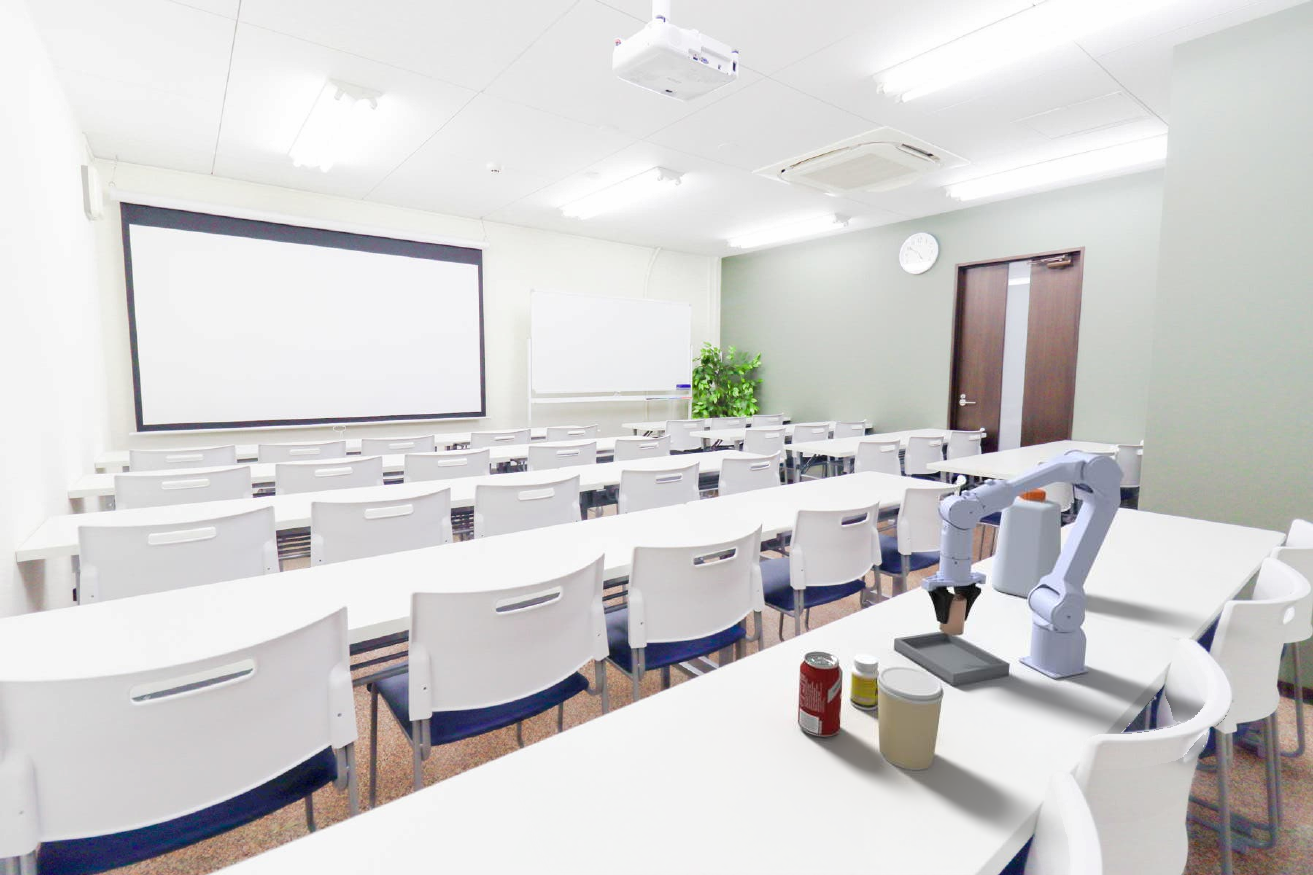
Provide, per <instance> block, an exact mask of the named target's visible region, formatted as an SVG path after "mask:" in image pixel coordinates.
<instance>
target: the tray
mask: <svg viewBox="0 0 1313 875" xmlns="http://www.w3.org/2000/svg"><path fill="white" fill-rule="evenodd" d="M893 641H894V642H893V650H895V651H896V652H897V653H898V654H900V655H902V656H904V657H905V658H907V659H908V660H910V661H912V662H913V663H914V664H917V666H920V667H921V668H922V669H925V670H926V672H929V673H930V674H932V676H934V677H937V678H938V679H940V680H942V681H943V682H944V683H946V684H948V685H950V686H951V687H956V686H961V685H967V684H971V683H978V682H981V681H988V680H993V679H997V678H1003V677H1008V676H1010V664H1011V663H1010V662H1007V661H1005V660H1003V659H1002V658H999V657H997V656H995V655H994V654H992V653H991V652H988V651H986V650H984V649H982V648H980V647H979V646H977V645H975V644H973V643H971V642H969V641H968V640H965V639H963V638H962V637H960V636H959V635H950V634H947V633H944V632H942V631H941V630H939V631H936V632H935V631H934V632H929V633H922V634H916V635H915V634H914V635H910V636H909V635H908V636H903V637H897V638H894V640H893Z"/></svg>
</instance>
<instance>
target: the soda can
mask: <svg viewBox="0 0 1313 875" xmlns="http://www.w3.org/2000/svg"><path fill="white" fill-rule="evenodd" d="M803 657H804V658H803V661H802V662H801V663H800V666H799V682H798V684H799V685H798V686H799V687H798V703H797V704H798V705H797V706H798V710H797V711H798V713H797V724H798V725H799V727H800V729H801V730H803V731H804V732H806V733H808V734H809V735H811V736H813V737H819V738H828V737H832V736H835V735H837V734H838V733H839V732H840V730H841V719H842V718H841V715H842V696H843V695H842V694H843V693H842V692H843V691H842V690H843V670H842V668H841V667H840V660H839V659H838V658H837V657H836V656H835V655H834V654H831V653H829V652H825V651H810V652H807V653H806V654H805V655H804V656H803Z"/></svg>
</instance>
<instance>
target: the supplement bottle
mask: <svg viewBox="0 0 1313 875" xmlns="http://www.w3.org/2000/svg"><path fill="white" fill-rule="evenodd" d="M878 669H879V660H878V658H877V657H875V656H873V655H871V654H868V653H867V654H865V653H860V654H856V655H855V656H854V658H853V666H852V667H851V671H850V689H849V690H850V691H849V692H850V693H849V694H850V695H849V702H850V704H851V705H852V706H853V707H855V708H856V709H859V710H862V711H873V710H876V709H877V708H878V684H877V678H878V676H879V675H880V672H879V670H878Z"/></svg>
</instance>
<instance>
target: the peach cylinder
mask: <svg viewBox="0 0 1313 875" xmlns="http://www.w3.org/2000/svg"><path fill="white" fill-rule="evenodd" d="M953 594H954V595H955V596H954V598H953V600H952V602H951V605H950V610H949V618H948V622H947V624H943V623H941V622H939V627H938V628H939V631H942V632H944V633H947V634H950V635H956V636H962V635H964V628H965V622H966V621H965V612H966V602H967V599H966V598H965V597H963V596H961V595H957V594H955V593H953Z"/></svg>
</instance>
